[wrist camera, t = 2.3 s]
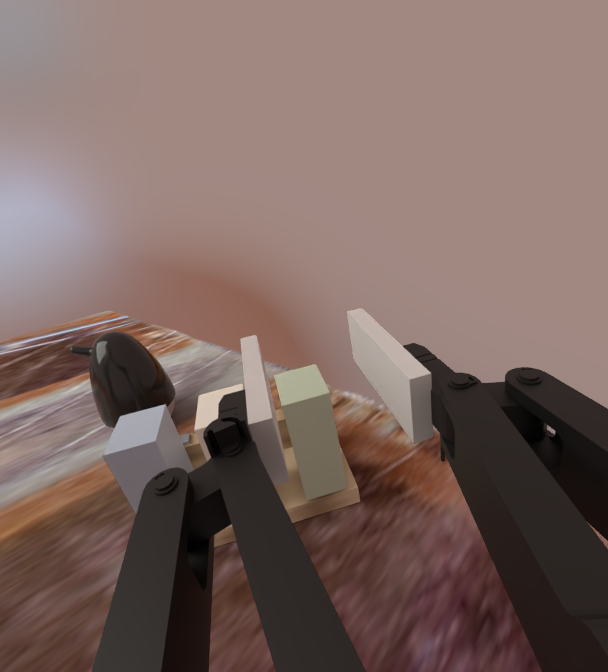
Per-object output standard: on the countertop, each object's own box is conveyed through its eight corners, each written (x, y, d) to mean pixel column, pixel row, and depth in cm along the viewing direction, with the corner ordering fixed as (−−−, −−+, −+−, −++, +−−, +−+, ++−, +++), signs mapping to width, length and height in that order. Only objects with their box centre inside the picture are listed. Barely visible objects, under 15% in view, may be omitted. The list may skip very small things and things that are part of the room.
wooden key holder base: (153, 566, 32) (125, 520, 30) (168, 484, 41) (148, 442, 39) (360, 501, 34) (352, 452, 32) (333, 436, 43) (324, 393, 41)
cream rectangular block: (232, 523, 32) (194, 430, 28) (231, 481, 37) (198, 395, 32) (275, 510, 33) (244, 416, 28) (269, 470, 37) (242, 383, 32)
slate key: (155, 547, 32) (102, 455, 27) (164, 501, 36) (120, 416, 31) (199, 533, 32) (155, 441, 27) (203, 490, 36) (165, 404, 32)
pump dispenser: (125, 410, 58) (83, 326, 51) (189, 396, 58) (155, 311, 51) (100, 456, 48) (45, 360, 42) (175, 439, 49) (132, 341, 42)
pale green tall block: (306, 500, 33) (281, 406, 28) (296, 462, 37) (274, 375, 33) (347, 488, 33) (329, 392, 29) (333, 451, 38) (315, 363, 33)
